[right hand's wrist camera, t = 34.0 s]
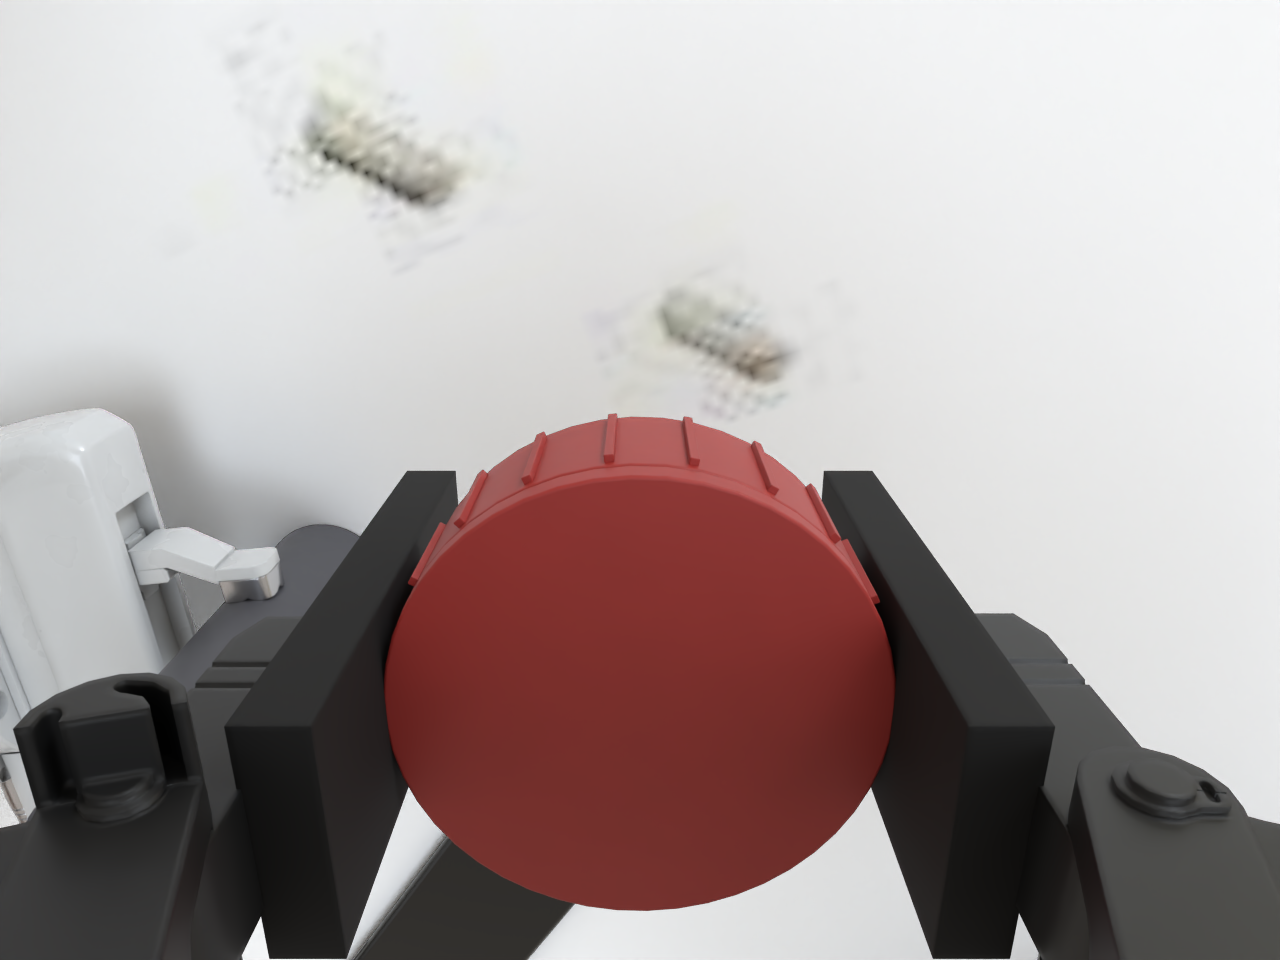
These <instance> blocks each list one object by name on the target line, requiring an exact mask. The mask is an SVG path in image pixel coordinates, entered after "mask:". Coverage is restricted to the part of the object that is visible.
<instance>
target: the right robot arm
mask: <svg viewBox="0 0 1280 960" xmlns="http://www.w3.org/2000/svg"><path fill="white" fill-rule="evenodd" d="M822 502H823V504H824V506H825V508H826V510H827V512H828V514H829V516H830V518H831V520H832V522H833V523H834V525H835V527H836V529H837V531H838V533H839V535H840V537H841V541H843V540H845V539H848V541H849V543H850V545H851V547H852V549H853V550H854V552H855V554H856V556H857V558H858V560H859V562H860V564H861V565H862V567H863V569H864V571H865V573H866V575H867V577H868V579H869V581H870V582H871V584H872V586H873V588H874V590H875V592H876V594H877V596H878V598H879V601H880V602H879V603H877V604H874V606H875V608H876V610H877V612H878V614H879V616H880V618H881V620H882V622H883V625H884V628H885V632H886V635H887V638H888V641H889V644H890V647H891V651H892V658H893V664H894V671H895V677H896V683H895V698H894V708H893V716H892V724H891V732H890V740H889V744H888V747H887V750H886V753H885V756H884V759H883V763H882V765H881V767H880V769H879V771H878V773H877V775H876V777H875V779H874V781H873V783H872V786H871V788H872V791H873V794H874V797H875V799H876V802H877V805H878V808H879V810H880V813H881V816H882V819H883V822H884V824H885V827H886V830H887V833H888V835H889V838H890V841H891V844H892V847H893V849H894V852H895V855H896V858H897V860H898V863H899V866H900V869H901V871H902V874H903V877H904V880H905V883H906V885H907V888H908V891H909V894H910V896H911V899H912V902H913V905H914V907H915V910H916V913H917V916H918V919H919V921H920V924H921V927H922V930H923V932H924V935H925V938H926V941H927V944H928V946H929V949H930V952H931V955H932V957H933V959H1010V956H1011V951H1012V946H1013V941H1014V935H1015V930H1016V925H1017V920H1018V915H1019V914H1020V916H1021V918H1022V920H1023V922H1024V924H1025V926H1026V928H1027V930H1028V932H1029V934H1030V936H1031V938H1032V940H1033V942H1034V944H1035V946H1036V948H1037V950H1038V952H1039V954H1038V959H1037V960H1280V824H1277V823H1272V822H1267V821H1263V820H1259V819H1255V818H1252V817H1248V816H1247V814H1246V811H1245V809H1244V808H1243V806H1242V805H1241V804H1240V802H1239V801H1238V800H1237V799H1236V797H1235V796H1234V795H1233V793H1232V792H1231V791H1230V789H1229V788H1228V787H1226V786H1225V785H1224V784H1222V783H1221V782H1219V781H1218V780H1217V779H1215V778H1214V777H1213V776H1211V775H1210V774H1209V773H1207V772H1206V771H1204V770H1203V769H1201V768H1199V767H1196V766H1194V765H1192V764H1190V763H1188V762H1186V761H1183V760H1181V759H1179V758H1177V757H1175V756H1172V755H1168V754H1164V753H1161V752H1157V751H1153V750H1149V749H1145V748H1141V746H1140V745H1139V744H1138V743H1137V742H1136V740H1135V739H1134V738H1133V737H1132V736H1131V734H1130V733H1129V732H1128V731H1127V730H1126V728H1125V727H1124V726H1123V725H1122V724H1121V722H1120V721H1119V720H1118V719H1117V718H1116V716H1115V715H1114V714H1113V713H1112V712H1111V710H1110V709H1109V708H1108V707H1107V706H1106V704H1105V703H1104V702H1103V701H1102V700H1101V698H1100V697H1099V696H1098V695H1097V694H1096V692H1095V691H1094V690H1093V689H1092V688H1091V686H1090V685H1085V679H1084V678H1083V677H1082V676H1081V675H1080V673H1079V672H1078V671H1077V670H1076V669H1075V667H1074V666H1073V665H1072V664H1068V659H1067V658H1066V657H1065V655H1064V654H1063V653H1062V652H1061V651H1060V649H1059V648H1058V647H1057V646H1056V645H1055V643H1054V642H1053V641H1052V640H1051V639H1050V637H1049V636H1048V635H1047V634H1045V633H1044V632H1042V631H1041V630H1039V629H1037V628H1036V627H1034V626H1033V625H1031V624H1029V623H1028V622H1026V621H1024V620H1023V619H1021V618H1020V617H1018V616H1016V615H1015V614H974V612H973V611H972V609H971V608H970V607H969V605H968V604H967V602H966V601H965V600H964V598H963V597H962V595H961V594H960V593H959V591H958V590H957V589H956V587H955V586H954V584H953V583H952V582H951V580H950V579H949V577H948V576H947V575H946V573H945V572H944V570H943V569H942V568H941V566H940V565H939V563H938V562H937V561H936V559H935V558H934V556H933V555H932V554H931V552H930V551H929V549H928V548H927V547H926V545H925V544H924V542H923V541H922V540H921V538H920V537H919V536H918V534H917V533H916V531H915V530H914V529H913V527H912V526H911V524H910V523H909V522H908V520H907V519H906V517H905V516H904V515H903V513H902V512H901V510H900V509H899V508H898V506H897V505H896V503H895V502H894V501H893V499H892V498H891V496H890V495H889V494H888V492H887V491H886V489H885V488H884V487H883V485H882V484H881V482H880V481H879V480H878V478H877V477H876V476H875V474H874V473H873V471H824V477H823V490H822ZM457 506H458V497H457V484H456V471H407V472H406V473H405V475H404V476H403V478H402V479H401V480H400V482H399V483H398V484H397V486H396V487H395V489H394V490H393V491H392V493H391V494H390V496H389V497H388V498H387V500H386V501H385V503H384V504H383V505H382V507H381V508H380V510H379V511H378V512H377V514H376V515H375V517H374V518H373V519H372V521H371V522H370V524H369V525H368V526H367V528H366V529H365V531H364V532H363V533H362V535H361V536H360V537H359V539H358V540H357V542H356V543H355V544H354V546H353V547H352V549H351V550H350V551H349V553H348V554H347V556H346V557H345V558H344V560H343V561H342V563H341V564H340V565H339V567H338V568H337V570H336V571H335V572H334V574H333V575H332V577H331V578H330V579H329V581H328V582H327V583H326V585H325V586H324V588H323V589H322V590H321V592H320V593H319V595H318V596H317V597H316V599H315V600H314V602H313V603H312V604H311V606H310V607H309V609H308V610H307V611H306V613H305V614H304V616H267V617H265V618H263V619H262V620H260V621H259V622H257V623H255V624H254V625H252V626H251V627H249V628H247V629H246V630H244V631H243V632H241V633H239V634H238V635H236V636H235V637H233V638H232V639H231V640H230V642H229V643H228V644H227V645H226V646H225V648H224V649H223V650H222V651H221V652H220V654H219V655H218V656H217V657H216V658H215V660H214V661H213V662H212V667H208V668H207V669H206V670H205V672H204V673H203V674H202V675H201V677H200V678H199V679H198V680H197V681H196V683H195V688H191V689H190V690H189V691H188V692H186V688H185V687H184V686H183V685H182V684H181V683H179V682H178V681H177V680H175V679H174V678H173V677H170V676H165V675H160V674H155V673H150V672H149V673H129V674H118V675H113V676H109V677H105V678H100V679H96V680H92V681H87V682H85V683H82V684H80V685H77V686H75V687H72V688H70V689H68V690H65V691H63V692H60V693H58V694H55V695H54V696H52V697H51V698H49V699H47V700H46V701H44V702H43V703H41V704H39V705H38V706H36V707H35V708H33V709H31V710H30V711H29V712H28V713H27V714H26V715H25V716H24V717H23V718H22V719H21V721H20V722H19V723H18V724H17V725H16V726H15V727H14V728H13V731H14V735H15V738H16V742H17V745H18V748H19V752H20V755H21V758H22V762H23V765H24V769H25V772H26V775H27V779H28V782H29V786H30V789H31V792H32V796H33V799H34V802H35V806H36V811H35V813H34V815H33V817H32V819H31V821H28V822H24V823H21V824H17V825H13V826H8V827H3V828H0V960H243V959H242V954H243V952H244V950H245V947H246V945H247V943H248V941H249V939H250V937H251V935H252V933H253V931H254V929H255V927H256V925H257V923H258V921H259V919H260V917H261V918H262V923H263V928H264V933H265V938H266V944H267V949H268V954H269V959H347V956H348V953H349V950H350V947H351V945H352V942H353V939H354V936H355V934H356V931H357V928H358V925H359V923H360V920H361V917H362V914H363V911H364V909H365V906H366V903H367V900H368V898H369V895H370V892H371V889H372V887H373V884H374V881H375V878H376V875H377V873H378V870H379V867H380V864H381V862H382V859H383V856H384V853H385V850H386V848H387V845H388V842H389V839H390V837H391V834H392V831H393V828H394V826H395V823H396V820H397V817H398V814H399V812H400V809H401V806H402V803H403V801H404V798H405V795H406V792H407V790H408V787H409V786H408V784H407V783H406V781H405V779H404V778H403V776H402V773H401V771H400V768H399V766H398V763H397V761H396V758H395V756H394V753H393V751H392V747H391V742H390V737H389V729H388V722H387V713H386V704H385V695H384V675H385V663H386V659H387V655H388V650H389V646H390V642H391V638H392V634H393V632H394V629H395V627H396V624H397V622H398V619H399V617H400V614H401V612H402V609H403V607H404V605H405V603H406V601H407V599H408V597H409V596H410V594H411V592H412V590H413V588H414V586H412V585H410V584H408V582H409V580H410V578H411V576H412V574H413V572H414V570H415V568H416V567H417V565H418V563H419V561H420V559H421V557H422V555H423V553H424V552H425V550H426V548H427V546H428V544H429V542H430V540H431V538H432V537H433V535H434V533H435V531H436V529H437V527H438V525H439V523H440V522H441V523H443V524H445V525H446V524H447V523H448V521H449V519H450V518H451V516H452V514H453V513H454V511H455V509H456V507H457Z"/></svg>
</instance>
